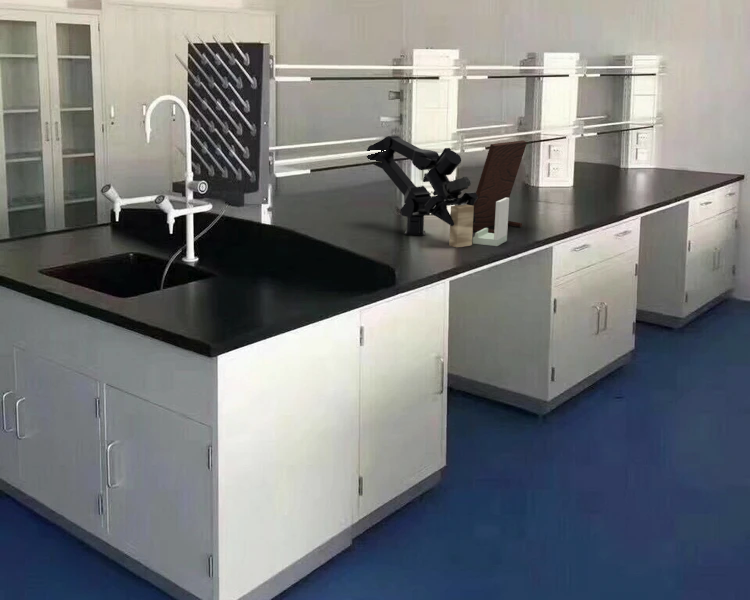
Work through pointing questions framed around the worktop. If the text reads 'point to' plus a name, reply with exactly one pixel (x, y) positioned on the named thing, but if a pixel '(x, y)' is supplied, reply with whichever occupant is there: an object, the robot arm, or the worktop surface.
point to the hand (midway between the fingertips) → (463, 223)
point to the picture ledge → (500, 226)
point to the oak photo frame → (461, 225)
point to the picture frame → (497, 181)
